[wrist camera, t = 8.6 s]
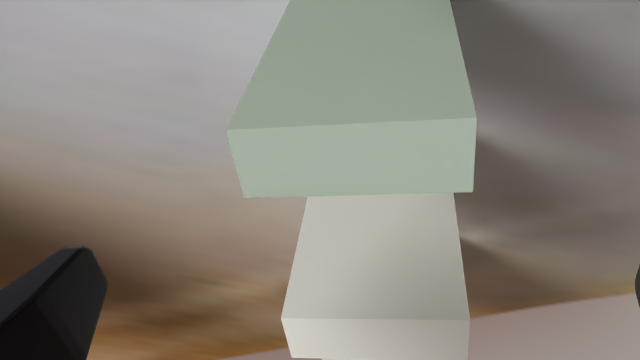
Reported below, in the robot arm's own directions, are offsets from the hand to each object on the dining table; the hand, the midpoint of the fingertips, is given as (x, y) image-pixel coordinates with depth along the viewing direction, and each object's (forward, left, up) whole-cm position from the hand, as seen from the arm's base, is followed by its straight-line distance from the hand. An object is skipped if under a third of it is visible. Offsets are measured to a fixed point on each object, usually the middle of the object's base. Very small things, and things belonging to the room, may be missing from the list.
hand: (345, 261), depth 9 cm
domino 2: (0, -6, -13) cm, 14 cm away
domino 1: (0, 0, -13) cm, 13 cm away
